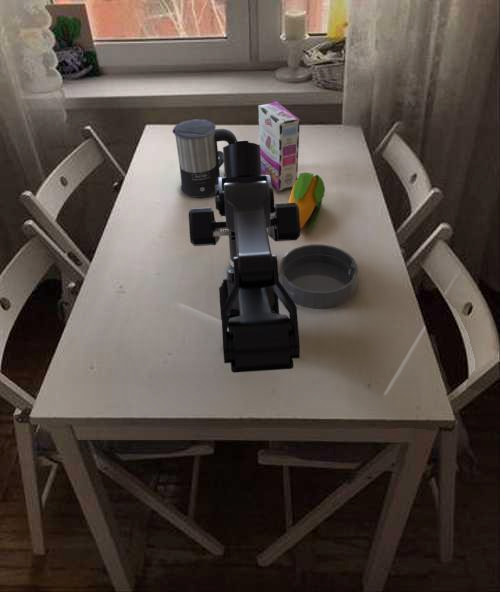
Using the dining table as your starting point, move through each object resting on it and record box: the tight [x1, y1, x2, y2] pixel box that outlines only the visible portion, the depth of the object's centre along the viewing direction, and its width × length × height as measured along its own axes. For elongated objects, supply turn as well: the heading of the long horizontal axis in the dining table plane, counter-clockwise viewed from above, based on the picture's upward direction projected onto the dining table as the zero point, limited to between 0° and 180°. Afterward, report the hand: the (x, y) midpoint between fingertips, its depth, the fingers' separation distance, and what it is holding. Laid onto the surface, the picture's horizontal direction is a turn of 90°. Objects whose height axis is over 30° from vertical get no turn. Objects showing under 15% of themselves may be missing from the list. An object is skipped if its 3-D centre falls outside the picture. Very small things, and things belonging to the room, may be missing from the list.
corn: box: [287, 171, 326, 233], centre depth 119 cm, size 7×8×20 cm
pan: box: [279, 243, 359, 309], centre depth 103 cm, size 14×14×4 cm
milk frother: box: [172, 118, 238, 198], centre depth 129 cm, size 14×16×15 cm
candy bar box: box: [257, 101, 301, 192], centre depth 128 cm, size 11×5×16 cm, turn 25°
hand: (243, 232), depth 105 cm, fingers open, 9 cm apart
